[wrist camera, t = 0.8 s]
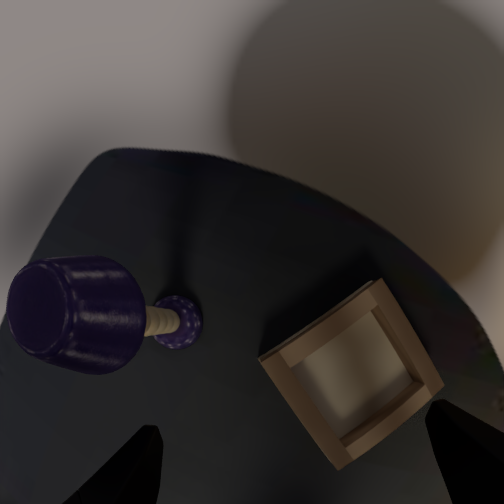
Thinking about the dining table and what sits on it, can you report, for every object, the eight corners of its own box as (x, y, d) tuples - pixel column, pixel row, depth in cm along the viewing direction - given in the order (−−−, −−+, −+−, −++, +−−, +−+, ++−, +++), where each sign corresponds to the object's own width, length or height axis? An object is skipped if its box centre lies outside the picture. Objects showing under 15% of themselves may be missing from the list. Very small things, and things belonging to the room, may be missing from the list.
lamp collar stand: (328, 458, 21) (337, 472, 18) (257, 358, 23) (258, 362, 20) (427, 381, 22) (445, 385, 19) (367, 282, 24) (381, 275, 21)
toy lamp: (176, 365, 23) (49, 419, 6) (132, 326, 23) (-28, 309, 7) (214, 318, 23) (139, 294, 7) (168, 281, 24) (44, 195, 8)
